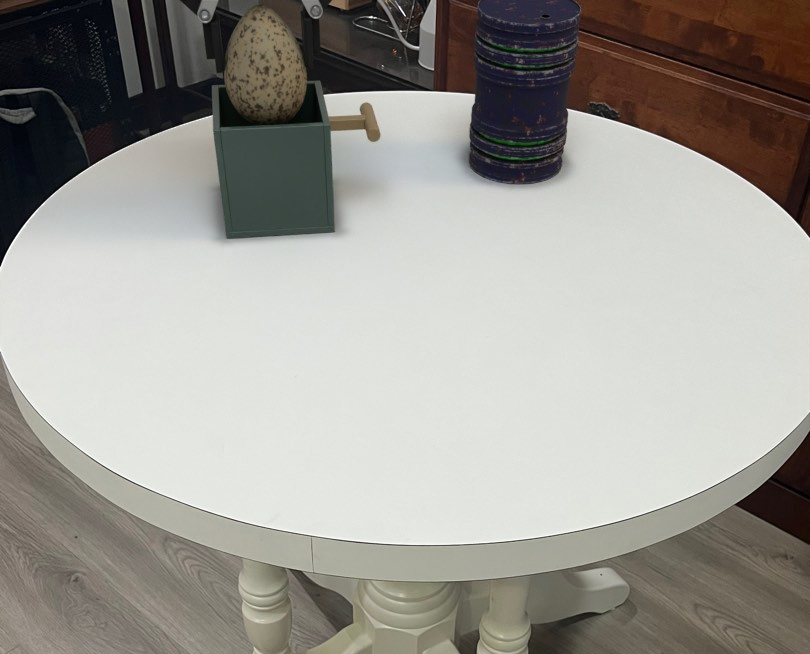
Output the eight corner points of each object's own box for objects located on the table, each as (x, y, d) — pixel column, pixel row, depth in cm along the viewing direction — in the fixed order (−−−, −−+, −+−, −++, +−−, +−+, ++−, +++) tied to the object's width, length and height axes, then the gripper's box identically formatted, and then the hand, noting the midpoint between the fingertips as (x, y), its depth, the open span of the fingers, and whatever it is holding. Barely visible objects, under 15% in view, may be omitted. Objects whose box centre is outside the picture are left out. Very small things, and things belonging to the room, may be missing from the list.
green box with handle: (212, 130, 84) (383, 122, 86) (211, 85, 91) (369, 78, 93) (226, 238, 91) (383, 229, 93) (224, 188, 98) (370, 180, 100)
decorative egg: (313, 109, 92) (306, -9, 85) (305, 143, 87) (298, 20, 80) (236, 108, 92) (223, -10, 85) (224, 141, 87) (209, 18, 80)
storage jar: (450, 152, 105) (457, -2, 94) (530, 135, 108) (545, -16, 97) (498, 192, 98) (511, 31, 88) (581, 173, 102) (603, 15, 91)
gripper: (354, -198, 77) (359, 45, 90) (125, -195, 75) (163, 53, 88) (366, -178, 72) (369, 77, 84) (120, -174, 70) (161, 86, 82)
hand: (264, 63), depth 86 cm, fingers closed on decorative egg, 7 cm apart
